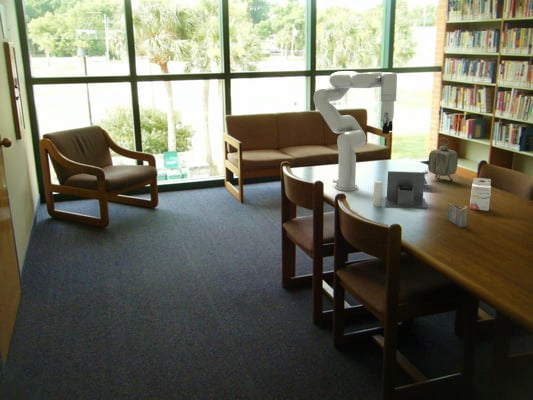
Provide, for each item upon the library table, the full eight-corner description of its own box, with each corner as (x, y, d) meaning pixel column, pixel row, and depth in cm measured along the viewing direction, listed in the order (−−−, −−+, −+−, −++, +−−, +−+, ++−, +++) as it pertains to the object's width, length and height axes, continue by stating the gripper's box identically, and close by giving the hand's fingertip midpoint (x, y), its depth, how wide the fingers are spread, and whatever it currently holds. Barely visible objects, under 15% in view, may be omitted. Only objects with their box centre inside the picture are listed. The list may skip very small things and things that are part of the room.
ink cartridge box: (469, 209, 259) (472, 179, 255) (469, 206, 264) (472, 177, 260) (488, 210, 257) (492, 181, 252) (488, 208, 261) (491, 178, 257)
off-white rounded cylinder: (371, 205, 268) (372, 182, 264) (375, 203, 270) (376, 180, 267) (378, 207, 265) (379, 183, 262) (382, 205, 268) (383, 181, 264)
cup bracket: (384, 198, 279) (385, 170, 275) (424, 200, 275) (426, 171, 271) (384, 207, 265) (386, 177, 261) (426, 208, 261) (428, 179, 257)
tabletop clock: (456, 181, 310) (459, 138, 303) (445, 183, 306) (449, 140, 298) (435, 176, 322) (438, 135, 315) (425, 178, 317) (428, 137, 310)
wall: (418, 197, 294) (439, 179, 292) (407, 186, 293) (428, 167, 292) (411, 194, 310) (431, 177, 308) (401, 183, 310) (421, 165, 308)
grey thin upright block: (466, 227, 236) (468, 206, 233) (460, 227, 235) (462, 206, 233) (452, 219, 247) (454, 199, 244) (446, 219, 246) (448, 199, 243)
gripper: (384, 96, 276) (383, 129, 281) (377, 99, 261) (376, 134, 265) (398, 96, 273) (397, 130, 278) (393, 99, 258) (391, 135, 262)
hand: (387, 132), depth 271 cm, fingers open, 9 cm apart
